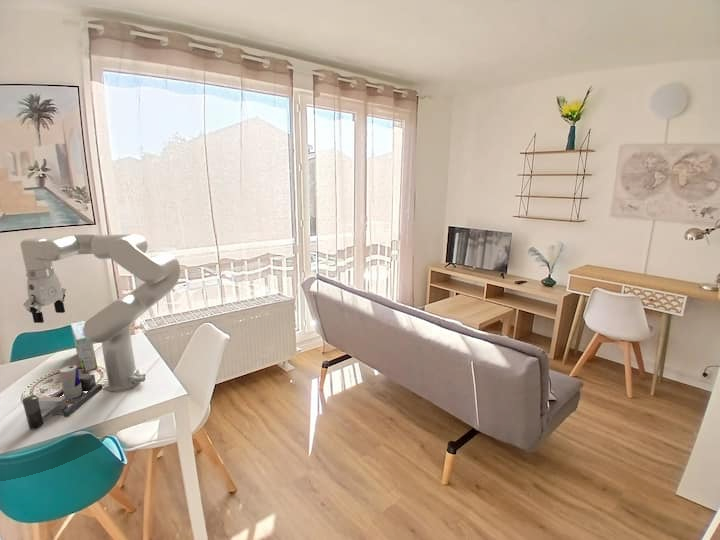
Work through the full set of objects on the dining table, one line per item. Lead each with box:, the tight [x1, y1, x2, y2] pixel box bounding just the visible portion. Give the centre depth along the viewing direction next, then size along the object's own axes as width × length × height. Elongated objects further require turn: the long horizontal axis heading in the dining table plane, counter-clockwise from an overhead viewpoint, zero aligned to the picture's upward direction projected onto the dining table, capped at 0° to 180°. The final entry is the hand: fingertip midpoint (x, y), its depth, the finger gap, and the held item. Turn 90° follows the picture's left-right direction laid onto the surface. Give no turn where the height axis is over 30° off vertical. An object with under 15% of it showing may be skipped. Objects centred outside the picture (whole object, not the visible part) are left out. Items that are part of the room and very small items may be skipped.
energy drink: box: [58, 364, 84, 402], centre depth 137 cm, size 5×5×12 cm
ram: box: [22, 395, 69, 430], centre depth 125 cm, size 8×10×10 cm
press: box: [50, 373, 103, 418], centre depth 136 cm, size 12×17×6 cm
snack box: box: [70, 320, 99, 373], centre depth 163 cm, size 21×6×15 cm, turn 42°
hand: (50, 317), depth 140 cm, fingers open, 9 cm apart
